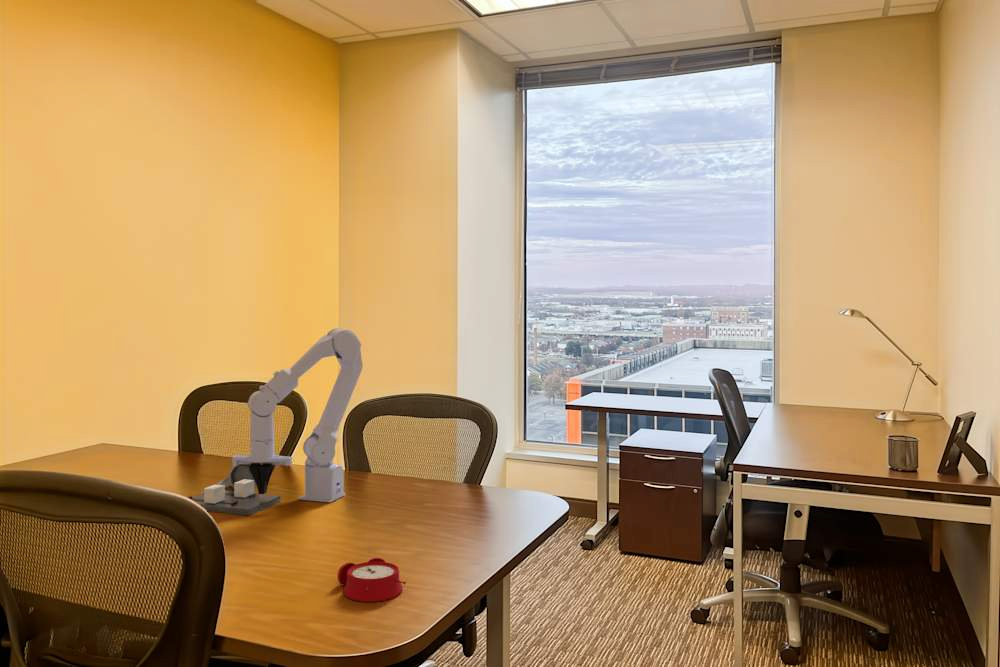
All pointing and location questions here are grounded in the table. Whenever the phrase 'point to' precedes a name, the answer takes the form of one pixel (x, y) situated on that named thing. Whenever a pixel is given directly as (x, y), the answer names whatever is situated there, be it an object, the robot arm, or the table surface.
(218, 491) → the block
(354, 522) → the table surface
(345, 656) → the table surface
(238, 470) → the ceramic mug
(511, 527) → the table surface
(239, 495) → the fader
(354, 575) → the alarm clock
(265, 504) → the console
